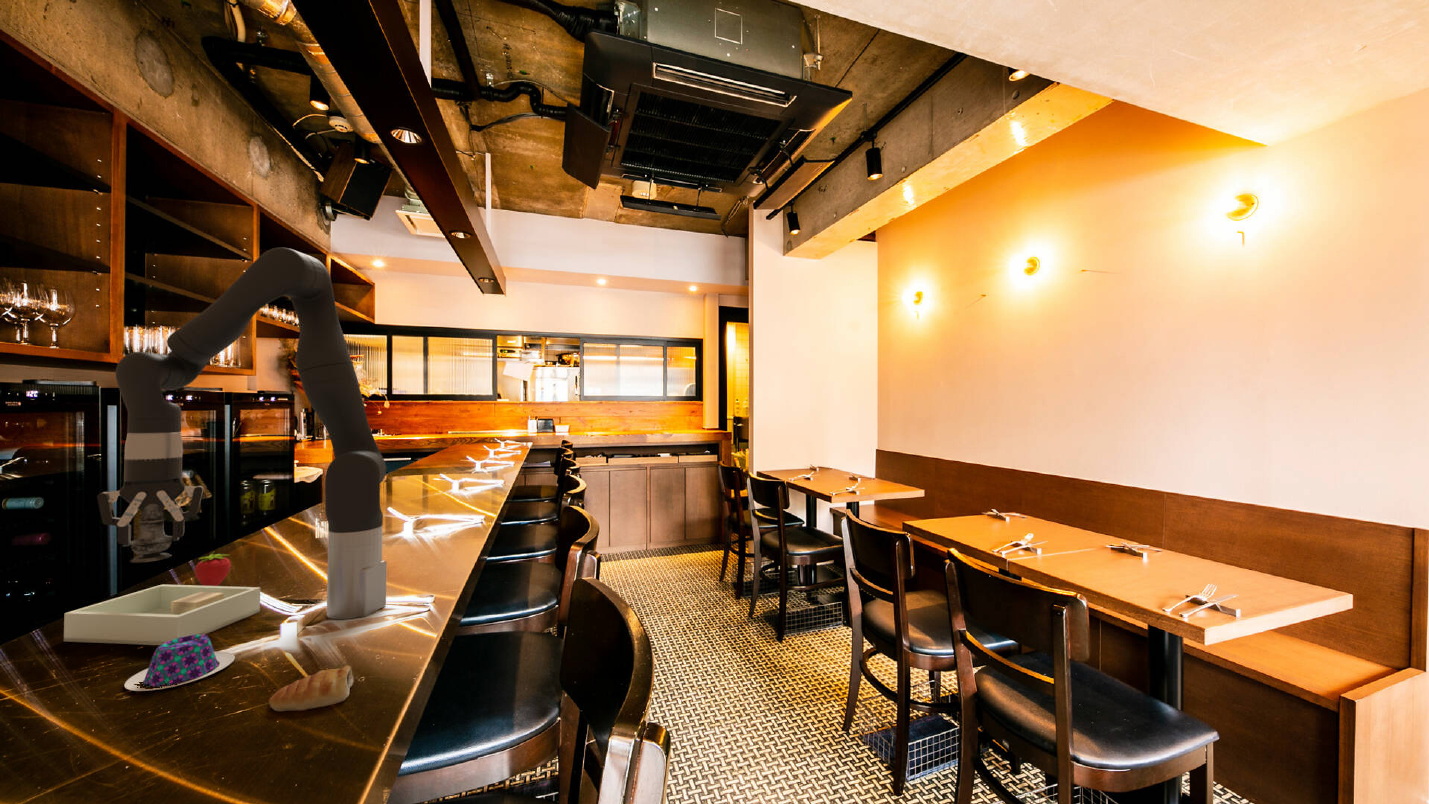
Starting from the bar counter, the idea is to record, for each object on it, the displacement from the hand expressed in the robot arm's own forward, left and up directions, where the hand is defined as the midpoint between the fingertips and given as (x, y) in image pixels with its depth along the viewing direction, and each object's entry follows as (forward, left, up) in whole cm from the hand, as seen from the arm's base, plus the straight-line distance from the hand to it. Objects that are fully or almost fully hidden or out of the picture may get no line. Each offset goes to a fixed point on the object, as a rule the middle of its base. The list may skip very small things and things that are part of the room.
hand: (152, 542), depth 97 cm
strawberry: (+7, -18, -16) cm, 25 cm away
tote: (-4, 0, -16) cm, 16 cm away
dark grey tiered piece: (0, 0, -3) cm, 3 cm away
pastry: (-53, +21, -16) cm, 59 cm away
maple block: (-10, 0, -15) cm, 18 cm away
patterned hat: (-26, +16, -16) cm, 34 cm away
